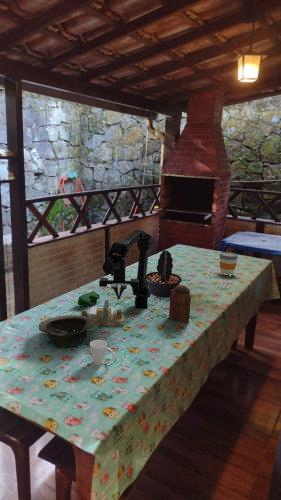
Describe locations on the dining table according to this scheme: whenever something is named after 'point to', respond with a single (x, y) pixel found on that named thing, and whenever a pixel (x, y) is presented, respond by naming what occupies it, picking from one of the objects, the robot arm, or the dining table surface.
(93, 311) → the mat
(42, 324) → the stone bowl
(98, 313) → the olive wooden block
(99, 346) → the cup
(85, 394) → the dining table surface
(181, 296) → the wooden figurine
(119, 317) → the plane body
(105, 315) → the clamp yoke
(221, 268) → the reusable coffee cup
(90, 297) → the green lumpy block
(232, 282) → the dining table surface
